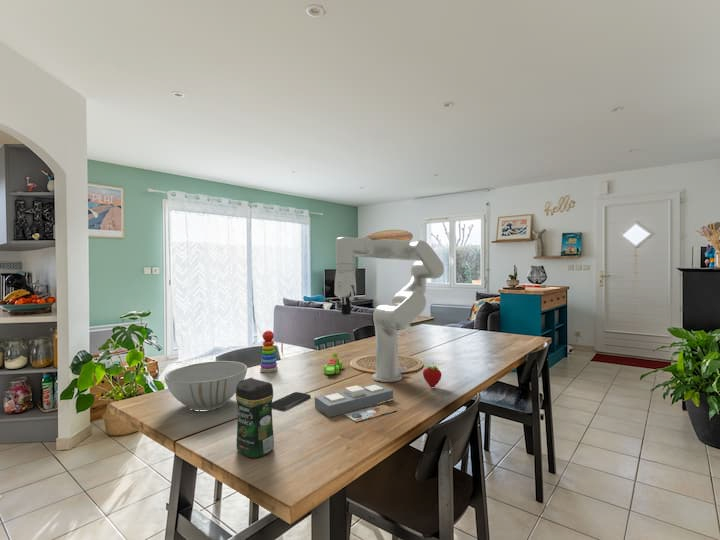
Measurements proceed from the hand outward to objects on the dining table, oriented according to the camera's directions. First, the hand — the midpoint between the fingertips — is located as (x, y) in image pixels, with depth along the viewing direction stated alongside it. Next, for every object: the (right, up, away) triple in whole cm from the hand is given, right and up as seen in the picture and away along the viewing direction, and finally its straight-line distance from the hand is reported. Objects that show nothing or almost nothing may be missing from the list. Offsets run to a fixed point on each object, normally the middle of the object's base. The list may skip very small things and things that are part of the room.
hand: (346, 314), depth 147 cm
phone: (-20, -30, -15) cm, 39 cm away
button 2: (+10, -29, -14) cm, 33 cm away
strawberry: (+34, -29, -2) cm, 45 cm away
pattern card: (+9, -29, -26) cm, 40 cm away
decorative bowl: (-48, -30, -17) cm, 59 cm away
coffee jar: (-22, -30, -50) cm, 62 cm away
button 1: (-3, -29, -22) cm, 36 cm away
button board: (+4, -29, -18) cm, 34 cm away
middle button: (+4, -27, -18) cm, 33 cm away
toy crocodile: (-7, -29, +23) cm, 38 cm away
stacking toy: (-37, -30, +25) cm, 54 cm away
